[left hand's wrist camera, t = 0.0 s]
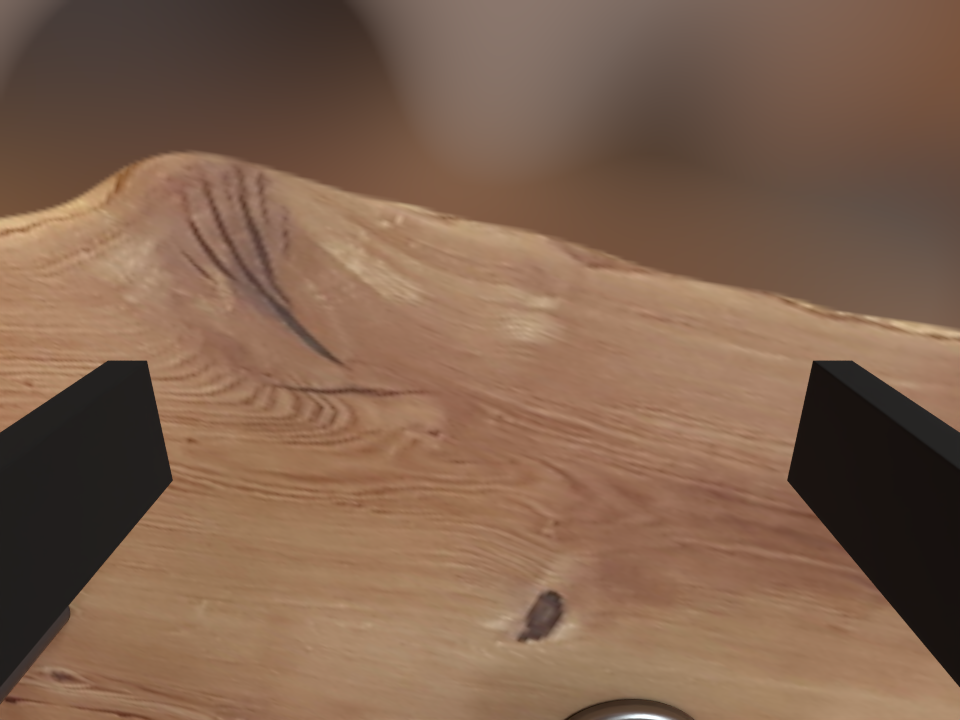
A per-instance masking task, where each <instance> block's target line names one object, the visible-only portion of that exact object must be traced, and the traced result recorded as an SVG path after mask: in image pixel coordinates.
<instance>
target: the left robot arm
mask: <svg viewBox="0 0 960 720" xmlns="http://www.w3.org/2000/svg"><path fill="white" fill-rule="evenodd" d="M172 481H173V479H172V475H171V470H170V465H169V461H168V456H167V452H166V447H165V442H164V438H163V433H162V428H161V424H160V419H159V414H158V410H157V405H156V401H155V396H154V391H153V387H152V382H151V377H150V373H149V368H148V364H147V361H107V362H105V363H104V364H102V365H101V366H99V367H98V368H96V369H95V370H93V371H92V372H90V373H89V374H87V375H86V376H84V377H83V378H81V379H80V380H78V381H77V382H75V383H74V384H72V385H71V386H69V387H68V388H66V389H65V390H63V391H62V392H60V393H59V394H57V395H56V396H54V397H53V398H51V399H50V400H48V401H47V402H45V403H44V404H42V405H41V406H39V407H38V408H36V409H35V410H33V411H32V412H30V413H29V414H27V415H26V416H24V417H23V418H21V419H20V420H18V421H17V422H15V423H14V424H12V425H11V426H9V427H8V428H6V429H5V430H3V431H2V432H0V687H1V686H2V685H3V683H4V682H5V681H6V680H7V679H8V677H9V676H10V675H11V674H12V673H13V671H14V670H15V669H16V668H17V667H18V665H19V664H20V663H21V662H22V661H23V659H24V658H25V657H26V656H27V655H28V653H29V652H30V651H31V650H32V649H33V647H34V646H35V645H36V644H37V643H38V641H39V640H40V639H41V638H42V637H43V635H44V634H45V633H46V632H47V631H48V629H49V628H50V627H51V626H52V625H53V623H54V622H55V621H56V620H57V619H58V617H59V616H60V615H61V614H62V613H63V611H64V610H65V609H66V608H67V607H68V605H69V604H70V603H71V602H72V601H73V599H74V598H75V597H76V596H77V595H78V593H79V592H80V591H81V590H82V589H83V587H84V586H85V585H86V584H87V583H88V581H89V580H90V579H91V578H92V577H93V575H94V574H95V573H96V572H97V571H98V569H99V568H100V567H101V566H102V565H103V563H104V562H105V561H106V560H107V559H108V557H109V556H110V555H111V554H112V553H113V551H114V550H115V549H116V548H117V547H118V545H119V544H120V543H121V542H122V541H123V539H124V538H125V537H126V536H127V535H128V533H129V532H130V531H131V530H132V529H133V527H134V526H135V525H136V524H137V523H138V522H139V520H140V519H141V518H142V517H143V516H144V514H145V513H146V512H147V511H148V510H149V508H150V507H151V506H152V505H153V504H154V502H155V501H156V500H157V499H158V498H159V496H160V495H161V494H162V493H163V492H164V490H165V489H166V488H167V487H168V486H169V484H170V483H171V482H172ZM787 481H788V482H789V483H790V484H791V486H792V487H793V488H794V489H795V490H796V492H797V493H798V494H799V495H800V496H801V498H802V499H803V500H804V501H805V502H806V504H807V505H808V506H809V507H810V508H811V510H812V511H813V512H814V513H815V514H816V516H817V517H818V518H819V519H820V520H821V522H822V523H823V524H824V525H825V526H826V527H827V529H828V530H829V531H830V532H831V533H832V535H833V536H834V537H835V538H836V539H837V541H838V542H839V543H840V544H841V545H842V547H843V548H844V549H845V550H846V551H847V553H848V554H849V555H850V556H851V557H852V559H853V560H854V561H855V562H856V563H857V565H858V566H859V567H860V568H861V569H862V571H863V572H864V573H865V574H866V575H867V577H868V578H869V579H870V580H871V581H872V583H873V584H874V585H875V586H876V587H877V589H878V590H879V591H880V592H881V593H882V595H883V596H884V597H885V598H886V599H887V601H888V602H889V603H890V604H891V605H892V607H893V608H894V609H895V610H896V611H897V613H898V614H899V615H900V616H901V617H902V619H903V620H904V621H905V622H906V623H907V625H908V626H909V627H910V628H911V629H912V631H913V632H914V633H915V634H916V635H917V637H918V638H919V639H920V640H921V641H922V643H923V644H924V645H925V646H926V647H927V649H928V650H929V651H930V652H931V653H932V655H933V656H934V657H935V658H936V659H937V661H938V662H939V663H940V664H941V665H942V667H943V668H944V669H945V670H946V671H947V673H948V674H949V675H950V676H951V677H952V679H953V680H954V681H955V682H956V683H957V685H958V686H959V687H960V432H958V431H957V430H955V429H954V428H952V427H951V426H949V425H948V424H946V423H945V422H943V421H942V420H940V419H939V418H937V417H936V416H934V415H933V414H931V413H930V412H928V411H927V410H925V409H924V408H922V407H921V406H919V405H918V404H916V403H915V402H913V401H912V400H910V399H909V398H907V397H906V396H904V395H903V394H901V393H900V392H898V391H897V390H895V389H894V388H892V387H891V386H889V385H888V384H886V383H885V382H883V381H882V380H880V379H879V378H877V377H876V376H874V375H873V374H871V373H870V372H868V371H867V370H865V369H864V368H862V367H861V366H859V365H858V364H856V363H855V362H853V361H813V364H812V368H811V373H810V377H809V382H808V387H807V391H806V396H805V401H804V405H803V410H802V414H801V419H800V424H799V428H798V433H797V438H796V442H795V447H794V452H793V456H792V461H791V465H790V470H789V475H788V479H787ZM568 720H694V719H693V718H692V717H690V716H689V715H688V714H686V713H684V712H683V711H681V710H679V709H677V708H675V707H672V706H669V705H667V704H663V703H659V702H654V701H648V700H619V701H612V702H607V703H603V704H599V705H596V706H593V707H590V708H588V709H585V710H583V711H581V712H579V713H577V714H575V715H574V716H572V717H571V718H569V719H568Z"/></svg>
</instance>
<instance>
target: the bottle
mask: <svg viewBox="0 0 960 720" xmlns="http://www.w3.org/2000/svg"><path fill="white" fill-rule="evenodd" d="M69 617H70V609H69V606H68V607H67V608H66V609H65V610H64V611H63V613H62V614H61V615H60V616H59V617H58V619H57V620H56V621H55V622H54V623H53V625H52V626H51V627H50V628H49V629H48V631H47V632H46V633H45V634H44V635H43V637H42V638H41V639H40V640H39V641H38V643H37V644H36V645H35V646H34V647H33V649H32V650H31V651H30V652H29V653H28V655H27V656H26V657H25V658H24V659H23V661H22V662H21V663H20V664H19V665H18V667H17V668H16V669H15V670H14V671H13V673H12V674H11V675H10V676H9V677H8V679H7V680H6V681H5V682H4V683H3V685H2V686H1V687H0V704H1V703H2V701H3V700H4V699H5V698H6V696H7V695H8V694H9V693H10V692H11V690H12V689H13V688H14V687H15V685H16V684H17V683H18V682H19V680H20V679H21V678H22V677H23V675H24V674H25V673H26V672H27V671H28V669H29V668H30V667H31V666H32V664H33V663H34V662H35V661H36V659H37V658H38V657H39V656H40V654H41V653H42V652H43V651H44V650H45V648H46V647H47V646H48V645H49V643H50V642H51V641H52V640H53V638H54V637H55V636H56V635H57V634H58V632H59V631H60V630H61V629H62V627H63V626H64V625H65V624H66V622H67V621H68V619H69Z"/></svg>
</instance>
